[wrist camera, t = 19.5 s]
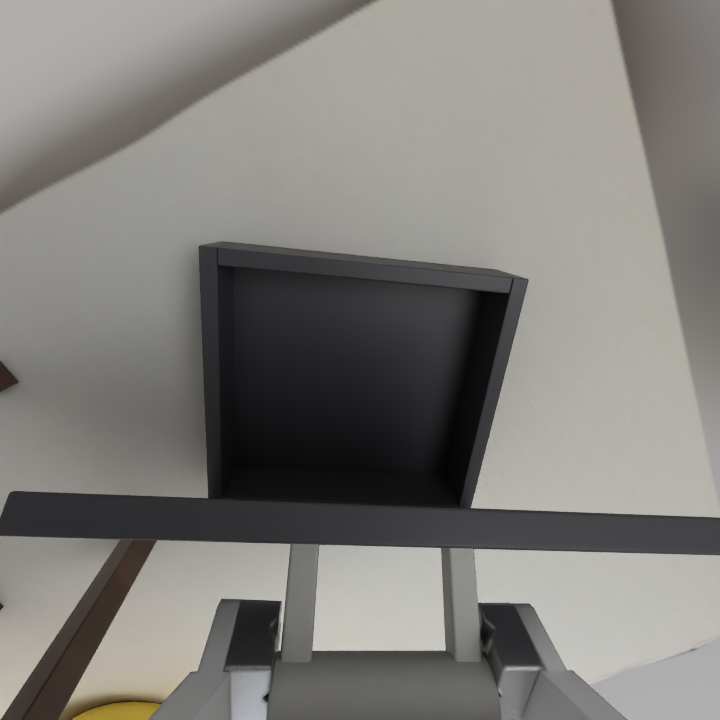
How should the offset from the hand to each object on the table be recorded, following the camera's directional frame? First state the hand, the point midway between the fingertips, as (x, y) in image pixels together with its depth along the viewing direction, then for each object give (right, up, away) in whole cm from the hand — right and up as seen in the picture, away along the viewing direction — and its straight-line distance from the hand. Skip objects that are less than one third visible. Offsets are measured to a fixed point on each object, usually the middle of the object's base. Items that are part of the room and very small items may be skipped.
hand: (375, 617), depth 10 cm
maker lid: (0, +1, +5) cm, 5 cm away
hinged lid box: (-1, +6, +14) cm, 15 cm away
